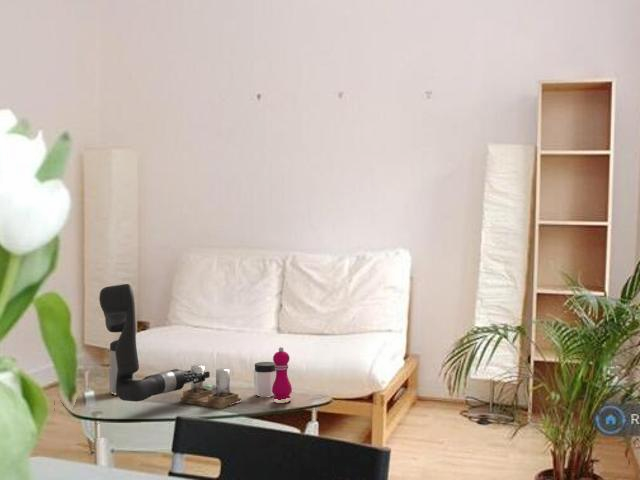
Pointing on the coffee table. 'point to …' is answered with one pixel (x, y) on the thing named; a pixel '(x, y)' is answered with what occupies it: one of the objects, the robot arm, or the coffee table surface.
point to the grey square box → (213, 389)
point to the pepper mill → (281, 375)
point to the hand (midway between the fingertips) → (201, 373)
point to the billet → (201, 385)
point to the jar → (264, 378)
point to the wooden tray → (209, 398)
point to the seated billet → (223, 382)
